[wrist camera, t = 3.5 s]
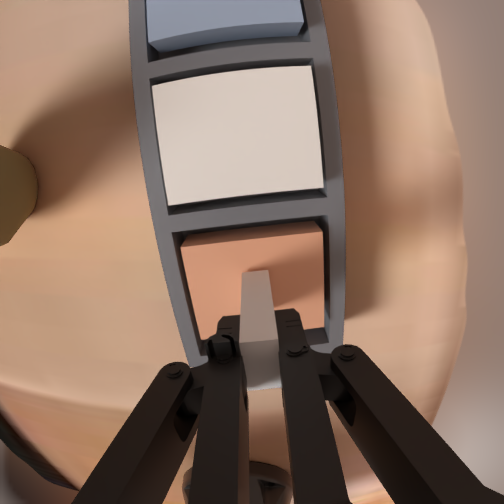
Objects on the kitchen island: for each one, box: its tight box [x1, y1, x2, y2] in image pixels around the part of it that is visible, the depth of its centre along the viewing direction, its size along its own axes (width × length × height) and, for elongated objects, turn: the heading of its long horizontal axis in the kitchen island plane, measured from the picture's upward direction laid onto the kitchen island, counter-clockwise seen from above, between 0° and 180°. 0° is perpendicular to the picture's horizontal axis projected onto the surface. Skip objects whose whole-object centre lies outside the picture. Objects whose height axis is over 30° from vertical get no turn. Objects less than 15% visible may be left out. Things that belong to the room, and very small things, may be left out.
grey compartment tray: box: [129, 0, 346, 367], centre depth 17 cm, size 30×11×4 cm, turn 6°
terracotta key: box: [180, 221, 324, 340], centre depth 19 cm, size 6×8×2 cm
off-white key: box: [152, 66, 323, 205], centre depth 15 cm, size 6×8×2 cm
